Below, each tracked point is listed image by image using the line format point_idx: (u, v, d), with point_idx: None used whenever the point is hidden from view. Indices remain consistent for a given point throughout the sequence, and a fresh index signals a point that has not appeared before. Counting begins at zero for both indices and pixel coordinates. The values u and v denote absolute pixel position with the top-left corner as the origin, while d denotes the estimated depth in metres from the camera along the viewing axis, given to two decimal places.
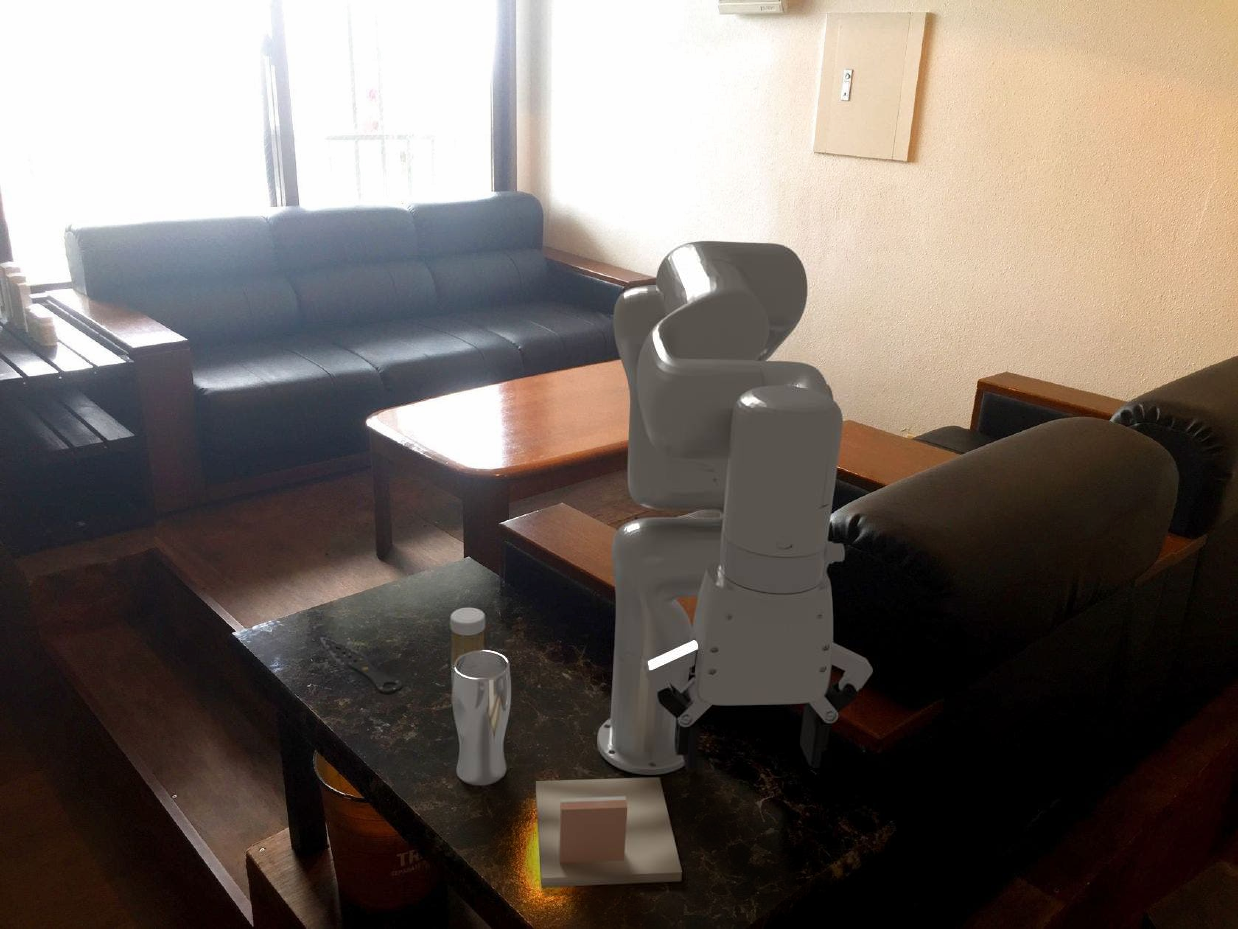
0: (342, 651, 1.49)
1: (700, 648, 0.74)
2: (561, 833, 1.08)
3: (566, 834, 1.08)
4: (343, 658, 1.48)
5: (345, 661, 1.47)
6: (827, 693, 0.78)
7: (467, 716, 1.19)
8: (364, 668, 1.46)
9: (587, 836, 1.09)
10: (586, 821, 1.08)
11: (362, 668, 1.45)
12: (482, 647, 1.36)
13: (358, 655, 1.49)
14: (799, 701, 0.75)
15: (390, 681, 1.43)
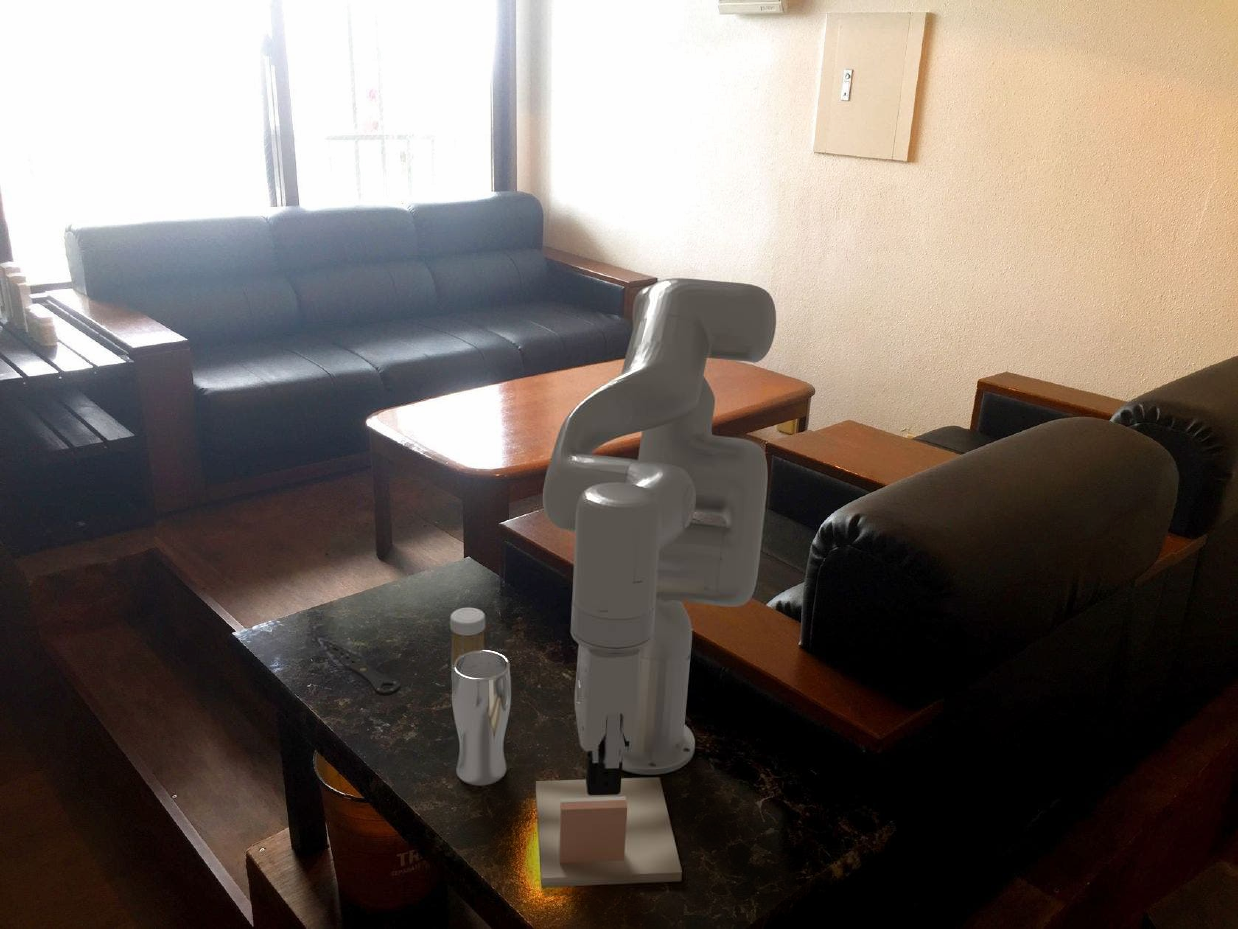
0: (340, 652, 1.49)
1: (628, 711, 0.90)
2: (561, 833, 1.08)
3: (566, 834, 1.08)
4: (341, 659, 1.47)
5: (343, 662, 1.47)
6: None
7: (467, 716, 1.19)
8: (362, 669, 1.45)
9: (587, 836, 1.09)
10: (586, 821, 1.08)
11: (360, 669, 1.45)
12: (482, 647, 1.36)
13: (356, 656, 1.48)
14: None
15: (388, 682, 1.42)
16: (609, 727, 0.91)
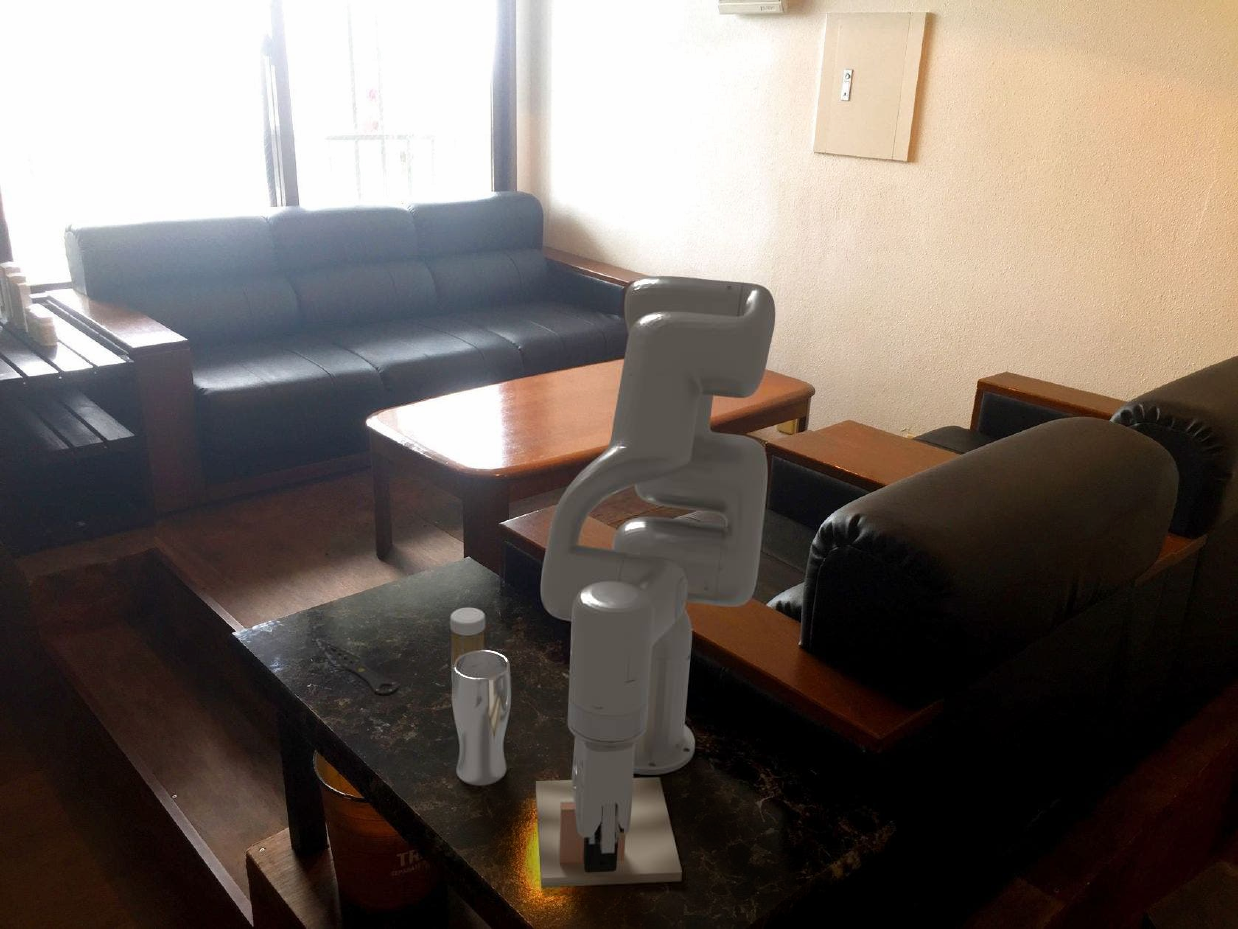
0: (338, 653, 1.49)
1: (623, 801, 0.94)
2: (561, 833, 1.08)
3: (566, 834, 1.08)
4: (339, 660, 1.47)
5: (341, 663, 1.46)
6: None
7: (467, 716, 1.19)
8: (360, 670, 1.45)
9: None
10: None
11: (358, 670, 1.45)
12: (482, 647, 1.36)
13: (354, 657, 1.48)
14: None
15: (386, 683, 1.42)
16: (605, 815, 0.95)
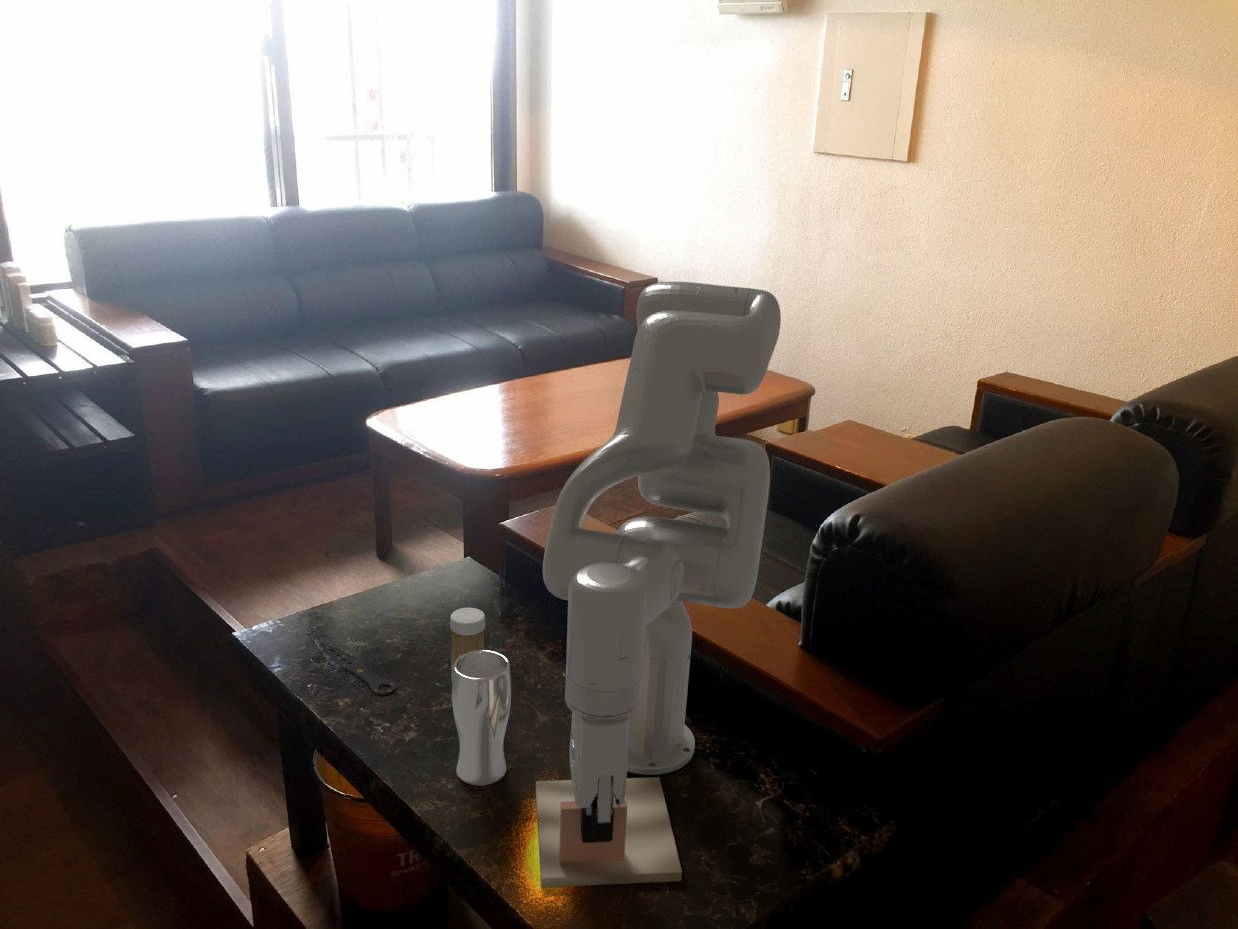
0: (336, 653, 1.49)
1: (618, 773, 0.98)
2: (561, 833, 1.08)
3: (566, 833, 1.08)
4: (337, 660, 1.47)
5: (339, 663, 1.46)
6: None
7: (467, 716, 1.19)
8: (359, 670, 1.45)
9: None
10: None
11: (357, 671, 1.45)
12: (482, 647, 1.36)
13: (352, 657, 1.48)
14: None
15: (385, 683, 1.42)
16: (601, 787, 0.99)
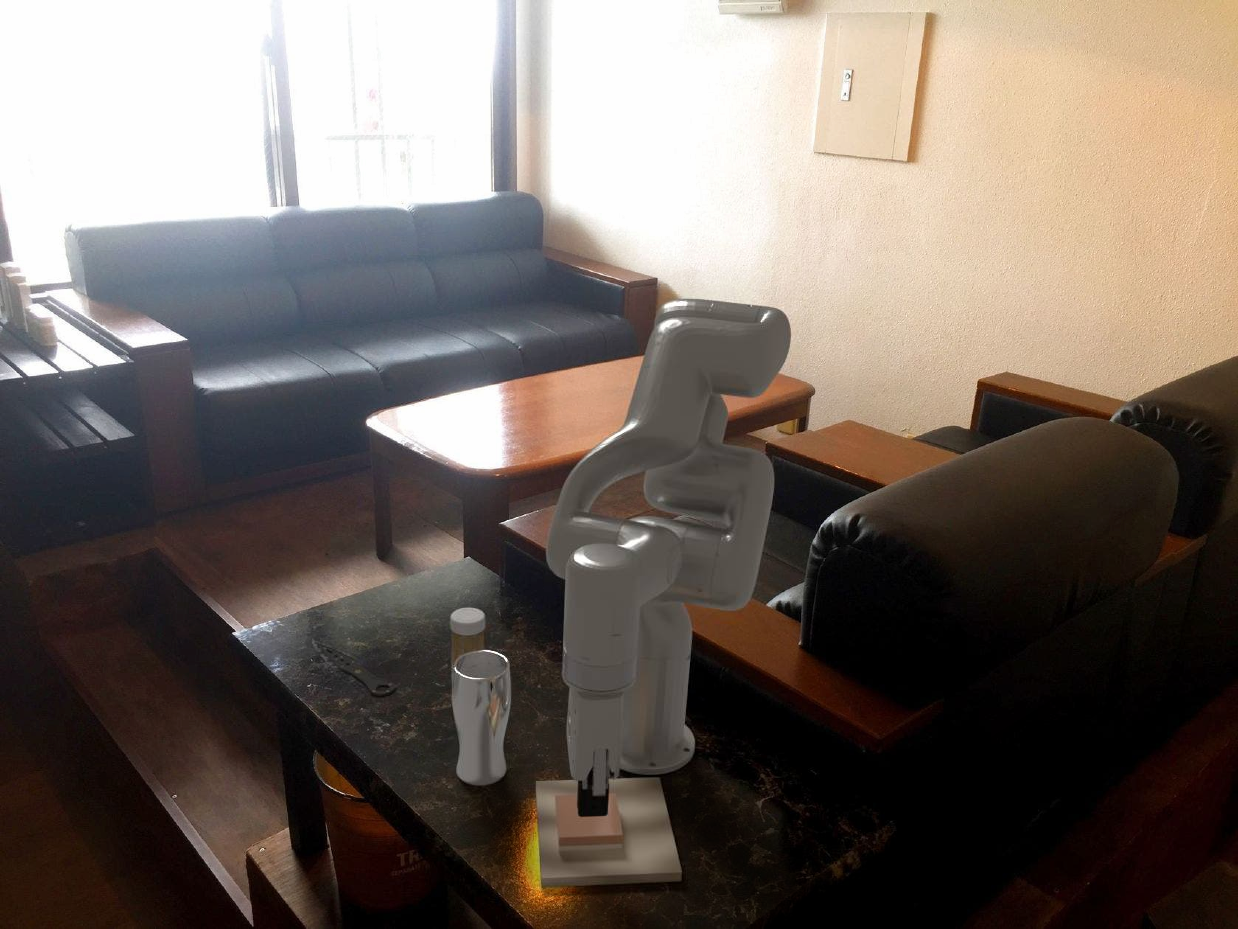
0: (334, 654, 1.49)
1: (613, 746, 1.01)
2: (557, 813, 1.14)
3: (562, 813, 1.14)
4: (335, 661, 1.47)
5: (337, 664, 1.46)
6: None
7: (467, 716, 1.19)
8: (356, 671, 1.45)
9: None
10: None
11: (355, 671, 1.45)
12: (482, 647, 1.36)
13: (350, 658, 1.48)
14: None
15: (383, 684, 1.42)
16: (596, 760, 1.02)
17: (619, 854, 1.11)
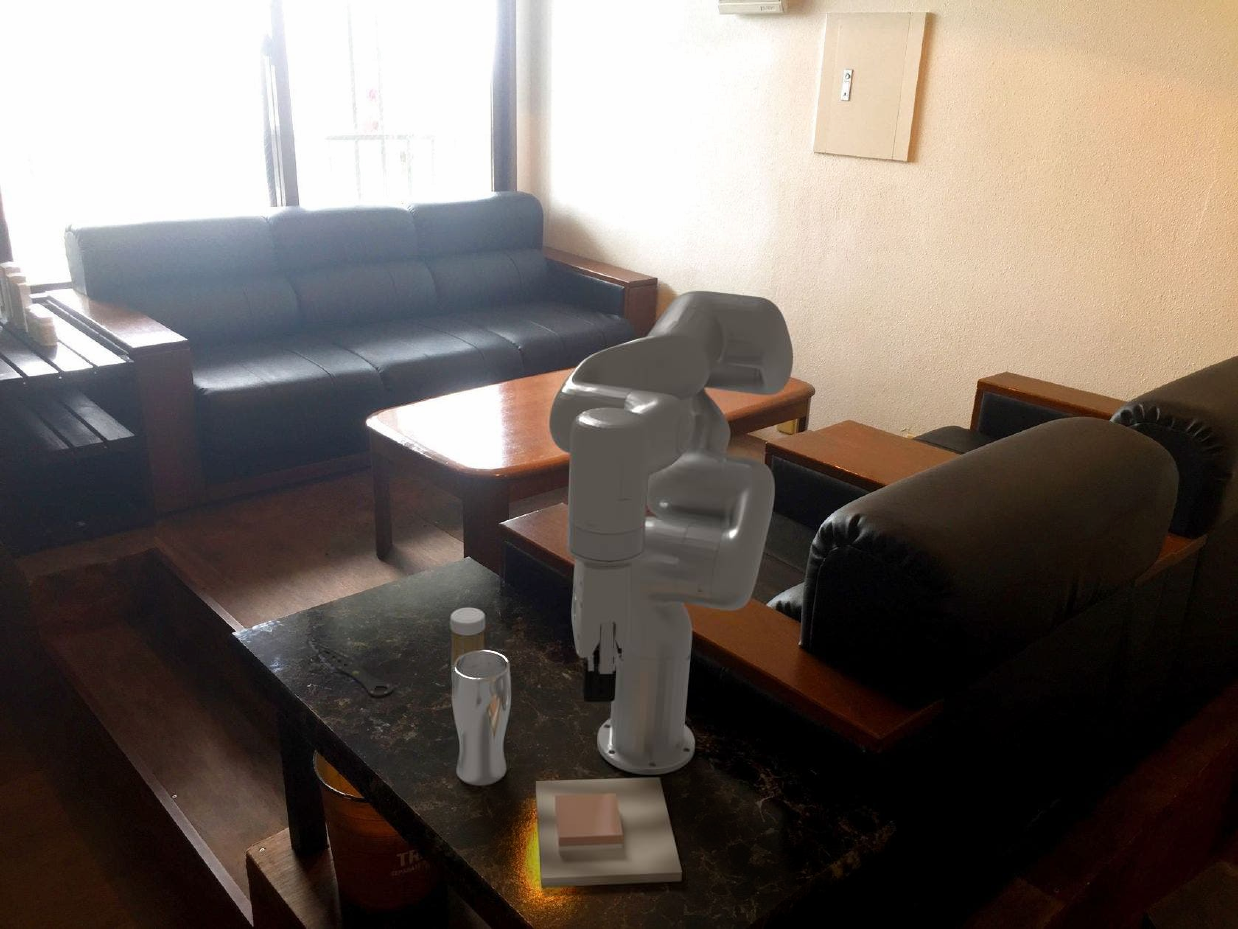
0: (331, 655, 1.48)
1: (621, 620, 0.97)
2: (557, 813, 1.14)
3: (562, 813, 1.14)
4: (333, 662, 1.46)
5: (335, 665, 1.46)
6: None
7: (467, 716, 1.19)
8: (354, 672, 1.44)
9: (582, 815, 1.14)
10: (579, 803, 1.16)
11: (352, 672, 1.44)
12: (482, 647, 1.36)
13: (348, 659, 1.47)
14: None
15: (381, 685, 1.42)
16: (603, 635, 0.98)
17: (619, 854, 1.11)
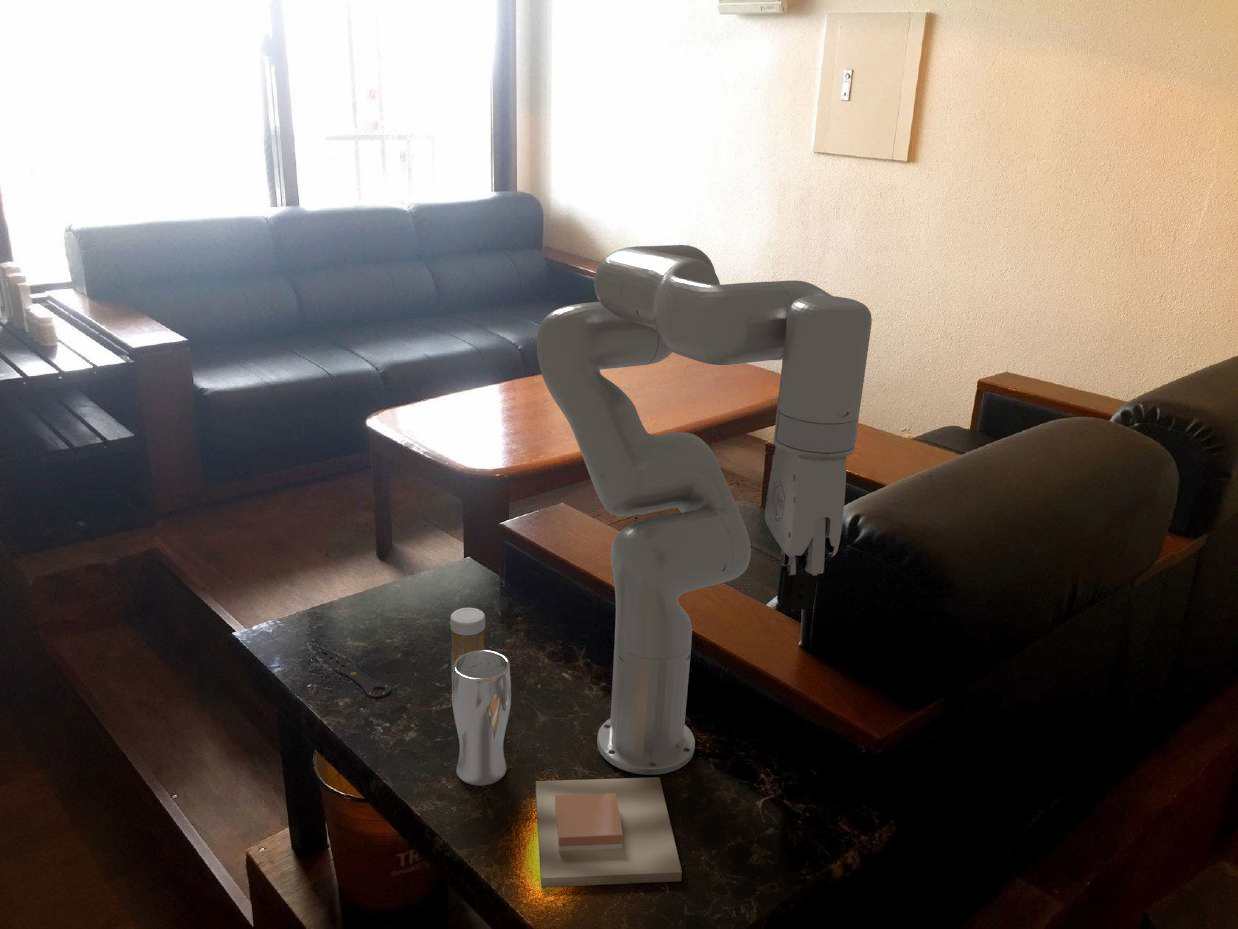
0: (329, 656, 1.48)
1: (836, 515, 0.93)
2: (557, 813, 1.14)
3: (562, 813, 1.14)
4: (330, 663, 1.46)
5: (332, 666, 1.45)
6: None
7: (467, 716, 1.19)
8: (352, 673, 1.44)
9: (582, 815, 1.14)
10: (579, 803, 1.16)
11: (350, 673, 1.44)
12: (482, 647, 1.36)
13: (345, 660, 1.47)
14: None
15: (379, 686, 1.41)
16: (815, 532, 0.94)
17: (619, 854, 1.11)
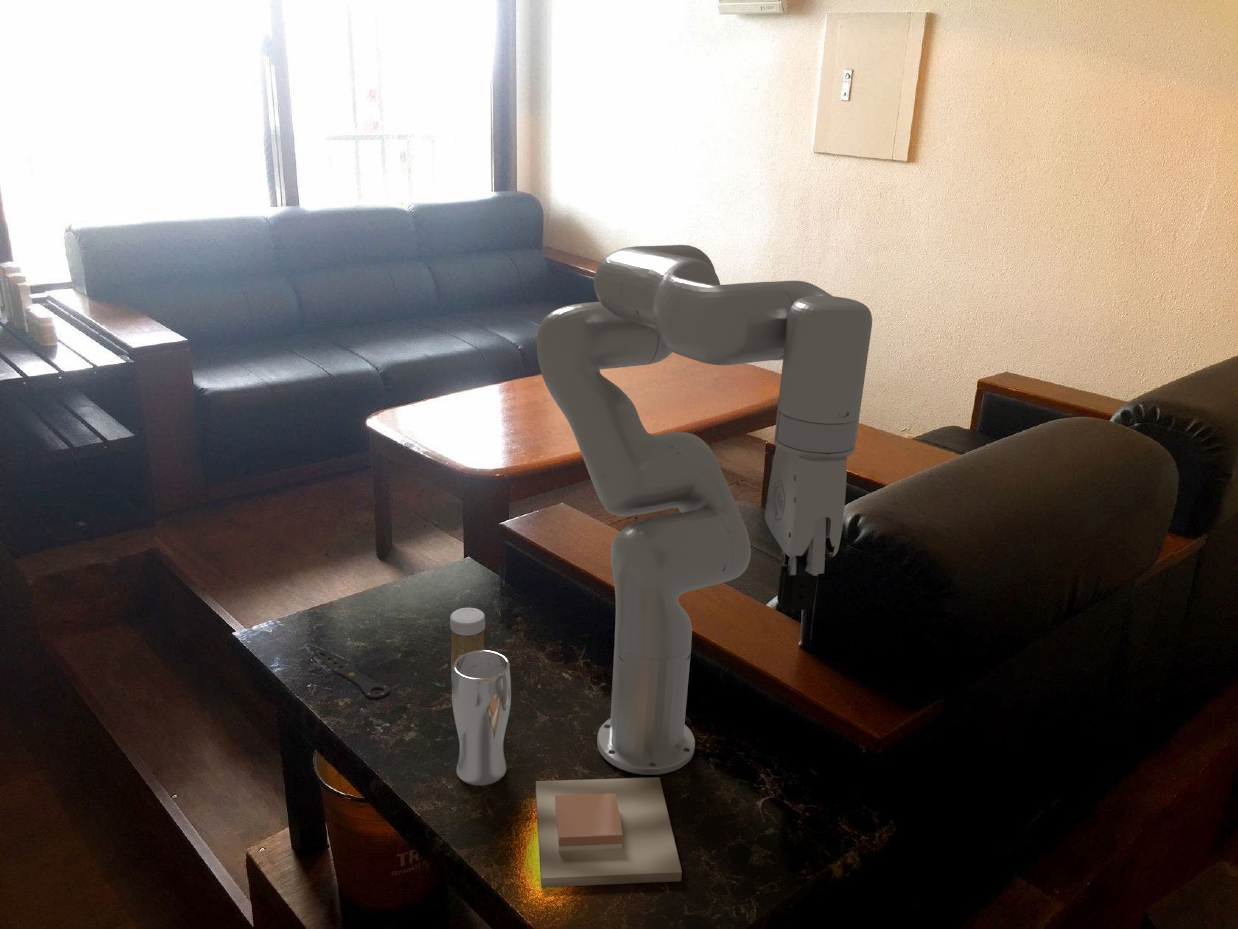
0: (327, 657, 1.48)
1: (836, 515, 0.93)
2: (557, 813, 1.14)
3: (562, 813, 1.14)
4: (328, 664, 1.46)
5: (331, 667, 1.45)
6: None
7: (467, 716, 1.19)
8: (350, 674, 1.44)
9: (582, 815, 1.14)
10: (579, 803, 1.16)
11: (349, 674, 1.44)
12: (482, 647, 1.36)
13: (344, 661, 1.47)
14: None
15: (378, 686, 1.41)
16: (815, 532, 0.94)
17: (619, 854, 1.11)
